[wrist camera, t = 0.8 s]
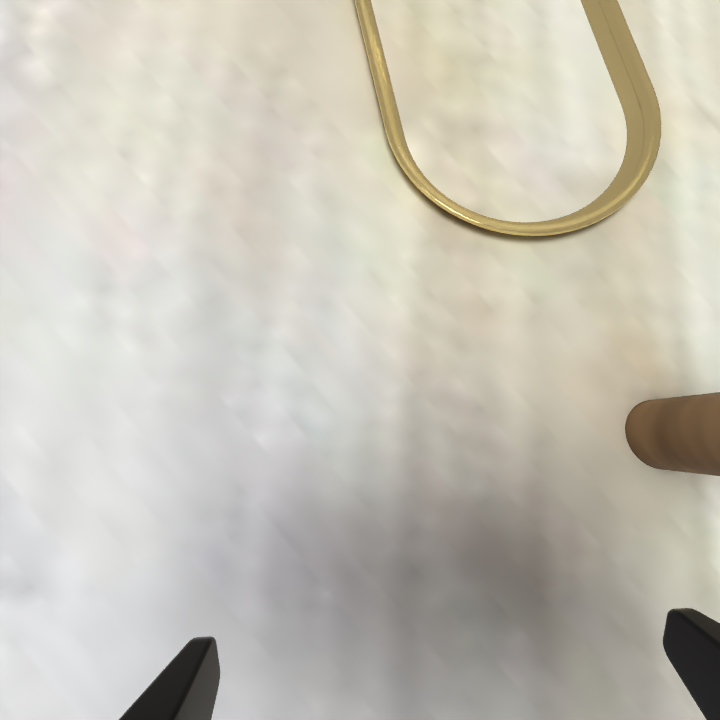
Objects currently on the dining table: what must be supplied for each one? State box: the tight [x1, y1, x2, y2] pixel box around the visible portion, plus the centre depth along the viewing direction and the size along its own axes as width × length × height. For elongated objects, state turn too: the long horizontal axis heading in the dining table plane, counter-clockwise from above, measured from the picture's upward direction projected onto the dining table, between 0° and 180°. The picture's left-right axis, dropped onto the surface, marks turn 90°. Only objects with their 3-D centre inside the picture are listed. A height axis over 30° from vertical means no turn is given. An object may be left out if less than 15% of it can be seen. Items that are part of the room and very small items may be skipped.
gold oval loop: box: [354, 0, 661, 236], centre depth 27 cm, size 19×35×2 cm, turn 11°
